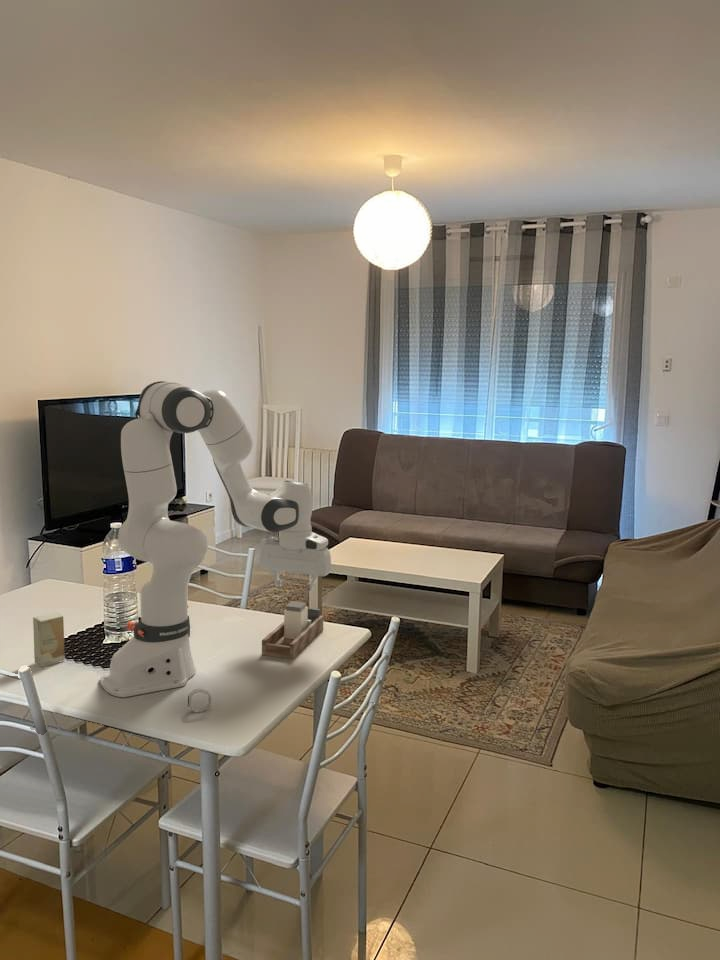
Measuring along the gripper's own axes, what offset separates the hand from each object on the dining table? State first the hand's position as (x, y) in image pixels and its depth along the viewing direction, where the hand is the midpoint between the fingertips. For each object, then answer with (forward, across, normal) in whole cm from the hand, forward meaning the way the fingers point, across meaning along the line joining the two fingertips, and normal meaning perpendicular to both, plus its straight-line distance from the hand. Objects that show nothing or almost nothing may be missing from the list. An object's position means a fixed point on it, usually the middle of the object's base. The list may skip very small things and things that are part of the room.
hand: (294, 587), depth 199 cm
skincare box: (+17, -53, -34) cm, 65 cm away
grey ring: (+17, -4, -45) cm, 48 cm away
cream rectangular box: (+14, 0, +1) cm, 14 cm away
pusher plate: (+14, 0, +4) cm, 14 cm away
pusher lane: (+15, 0, -1) cm, 15 cm away
